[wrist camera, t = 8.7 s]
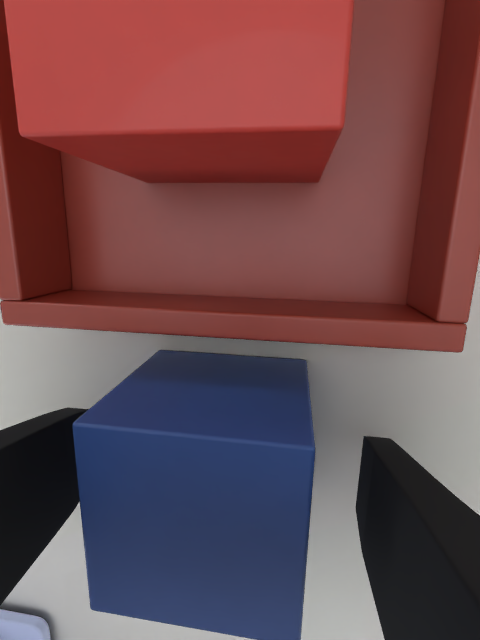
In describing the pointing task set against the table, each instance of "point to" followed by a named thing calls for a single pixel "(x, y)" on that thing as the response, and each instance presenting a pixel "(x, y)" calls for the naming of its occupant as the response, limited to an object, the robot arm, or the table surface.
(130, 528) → the blue block
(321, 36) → the red block
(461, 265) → the red tray
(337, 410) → the table surface
